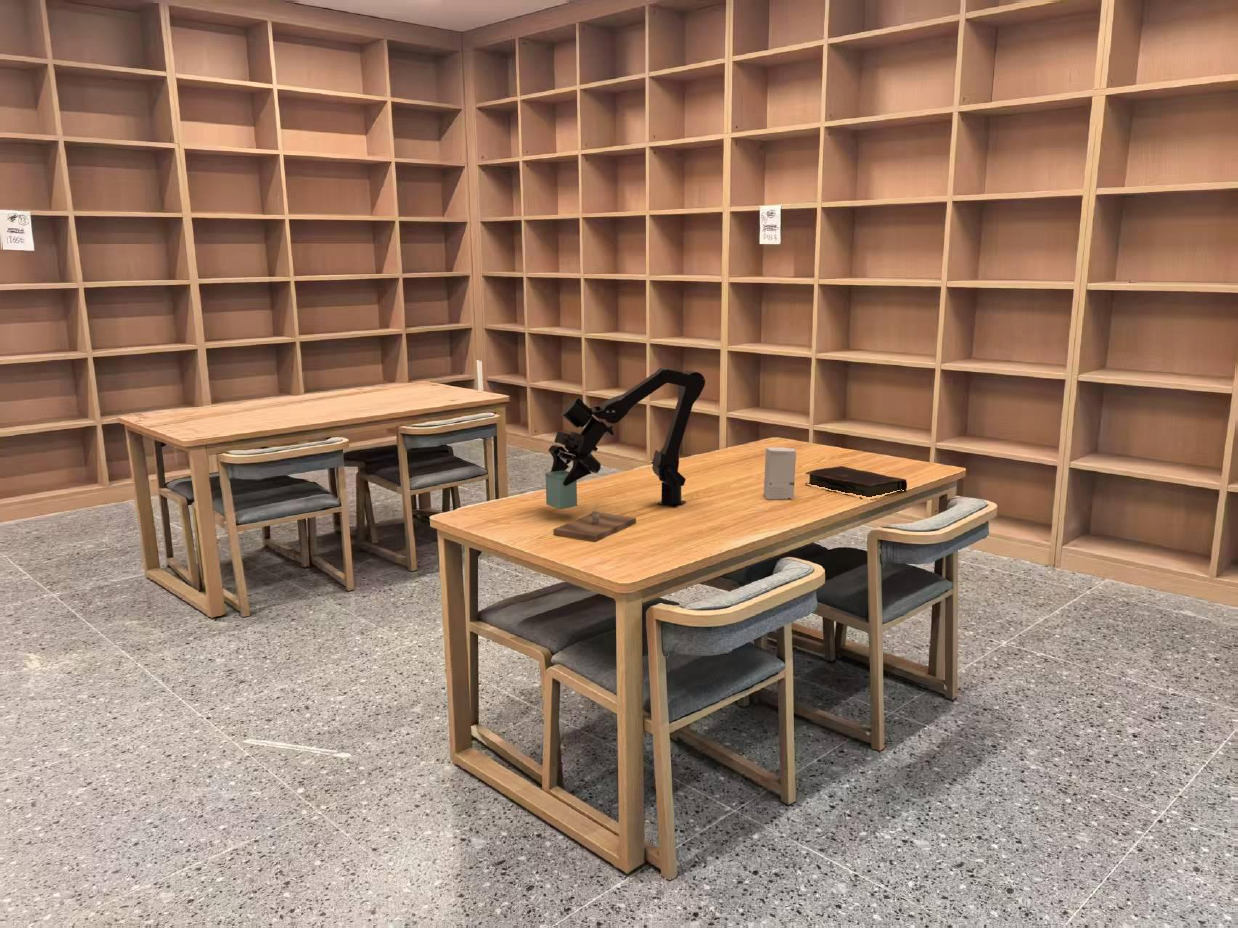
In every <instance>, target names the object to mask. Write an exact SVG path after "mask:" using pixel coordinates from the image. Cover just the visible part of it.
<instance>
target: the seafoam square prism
mask: <svg viewBox="0 0 1238 928" xmlns="http://www.w3.org/2000/svg"><path fill="white" fill-rule="evenodd" d="M569 472H570V471H567V470H565V471H564V470H560V471H554V472H551V471H547V472H545V473H544V474H545V501H546V502H545V504H546V505H547V506H550V507H552V508H555V509H558V510H564V509H569V508H575V507H578V491H577V490H578V489H577V488H578V486H577V482H578V480H576V481H574V482H573V483H571V484H569V485H567V486H564V485H563V482H564V480H565V479H566V477H567V475H568V474H569Z"/></svg>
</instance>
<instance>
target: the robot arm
mask: <svg viewBox="0 0 1238 928" xmlns="http://www.w3.org/2000/svg"><path fill="white" fill-rule="evenodd" d="M666 384H672V385H676V386H677V403H676V405H675V408H674V412H673V415H672V418H671V421H670V425H669V427H668V431H667V435H666V438H665V441H664V444H663V447H662V448H661V449H660V451H658V450H654V455H653V459H652V461H651V462H650V464H651V465H652V467H651V468H652V471H653V473H654V475H656V476H657V477H658V479H659V481H660V482H661V495H660V496H661V499H660V501H658V502H656V505H658V506H664V507H672V508H677V507H680V506H682V505H684V504H686V503H687V501H686V500H682V487H684V486H685V483H686V480H687V479H686V478H685V477H684V476H683V474H681V473H680V472H679V467H680V466H679V465H680V448H681V445H682V441H683V440H684V439H683V438H684V435H685V432H686V429H687V426H688V422H689V419H690V416H691V412H692V410H693V409H692V408H693V406H694V404H695V402H696V401H697V400H698V399H699V398H700V396H701V395H702V392H703V390H704V388H705V386H706V379H705V377H704V375H703V374H702V373H700V372H698V371H695V370H692V369H688V370H687V369H686V370H684V371H679V370H674V369H668V368H666V367H659V368H658V369H657V370H656V371H655V372H654V373H652V374H651V375H649V376H647V377H646V378H644V380H641V381H640V382H639V383H637V384H636V385H634V386H633V387H632V388H630V389H629V390H627V391H626V392H624V393H622V394H619V395H616V396H613V397H611V398H609V399H606V400H605V401H602V403H600V404H599V405H597V406H593V407H589V406H588V405H587V404H586V403H584V402H583V400H582V399H581V398H579V397H578V396H576V398H575V399H573V400H572V401H570V402H569V403H568V404H566V405H565V407H564V408H563V409H562V410H561V414H560V416H561V417H563V418H564V419H565V420H566V421H568V422H569V423H570V424H571V425H573V427H574V428H577V429H578V428H583V429H582V430H581V432H580V433H578V432H575V431H572V432H570V434H569V433H566V432H563V431H556V432H557V433H556V435H555V438H554V440H553V443H556V444H551V446H550V447H549V448H548V451H547V452H548V453H549V454H550V455H551V457H552V460H553V461H552V467H551V470H550V472H554V471H560V470H564V471H567V469H570V470H569V471H568V472H569V474H568V475H567V477H566V479H565V480H564V482H563V485H564V486H567V485H569V484H571V483H573V482H574V481H576V480H577V481H578V480H580V479H582V478H584V477H586V476H588V475H592V473H594V474H598V473H599V472H600V470H601V469H602V467H601V466H602V464H601V462H600V461H598V459H597V458H596V457H595V456H594V455H593V454H592V452H597V451H598V447H597V446H598V445H599V443H600V441H601V440H602V438H603V437H604V436H605V435H606V436H607V437H609V436H614V430H613V424H618V423H619V422H620V421H622V419H623V418H624V417H625V416H626V415H627V414H628V413H629V411H630V410H631V409H632V408H633V407H634V406H635V405H637V404H638V403H640V402H641V401H642V400H644V399H646V398H647V397H648V396H650V395H651V394H653V393H654V392H655V391H657V390H658V389H660V388H662V387H663V386H664V385H666ZM597 419H599V420H597ZM604 421H605V422H607V423H609V424H612V425H607V424H606V423H605V422H604ZM557 444H561V445H557ZM562 445H563V446H562ZM571 462H572V467H571V468H570V465H569V464H570V463H571Z"/></svg>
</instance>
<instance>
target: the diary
mask: <svg viewBox="0 0 1238 928" xmlns="http://www.w3.org/2000/svg"><path fill="white" fill-rule="evenodd" d="M805 475H809V483H807V482H805V483H804V484H805V485H806V484H811V485H817V486H819V487H825V488H828V489H831V490H838V491H841V492H845V493H853V494H856V495H862V496H866V497H872V496H876V495H882V494H885V493H890V492H893V491H897V490H901V489H902V490H904V492H903V493H907V489H908V483H907V479H906V478H901V477H899V478H898V477H895V476H889V475H884V474H880V473H875V472H871V471H866V470H860V469H855V468H851V467H848V466H843V465H840V466H834V467H825V468H819V469H814V470H810V471H807V472H805Z"/></svg>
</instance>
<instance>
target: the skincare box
mask: <svg viewBox="0 0 1238 928" xmlns="http://www.w3.org/2000/svg"><path fill="white" fill-rule="evenodd" d="M796 458H797V450H796V449H795V448H793V447H771V446H770V447H768V446H767V447H765V459H764V480H763V496H764V495H765V496H764V497H765V498H766V500H789V499H788V498H793V499H794V497H795V495H794V492H795V482H796V481H795V480H796V479H795V477H796V466H797V465H796V463H797V462H796V461H797V459H796Z"/></svg>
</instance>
